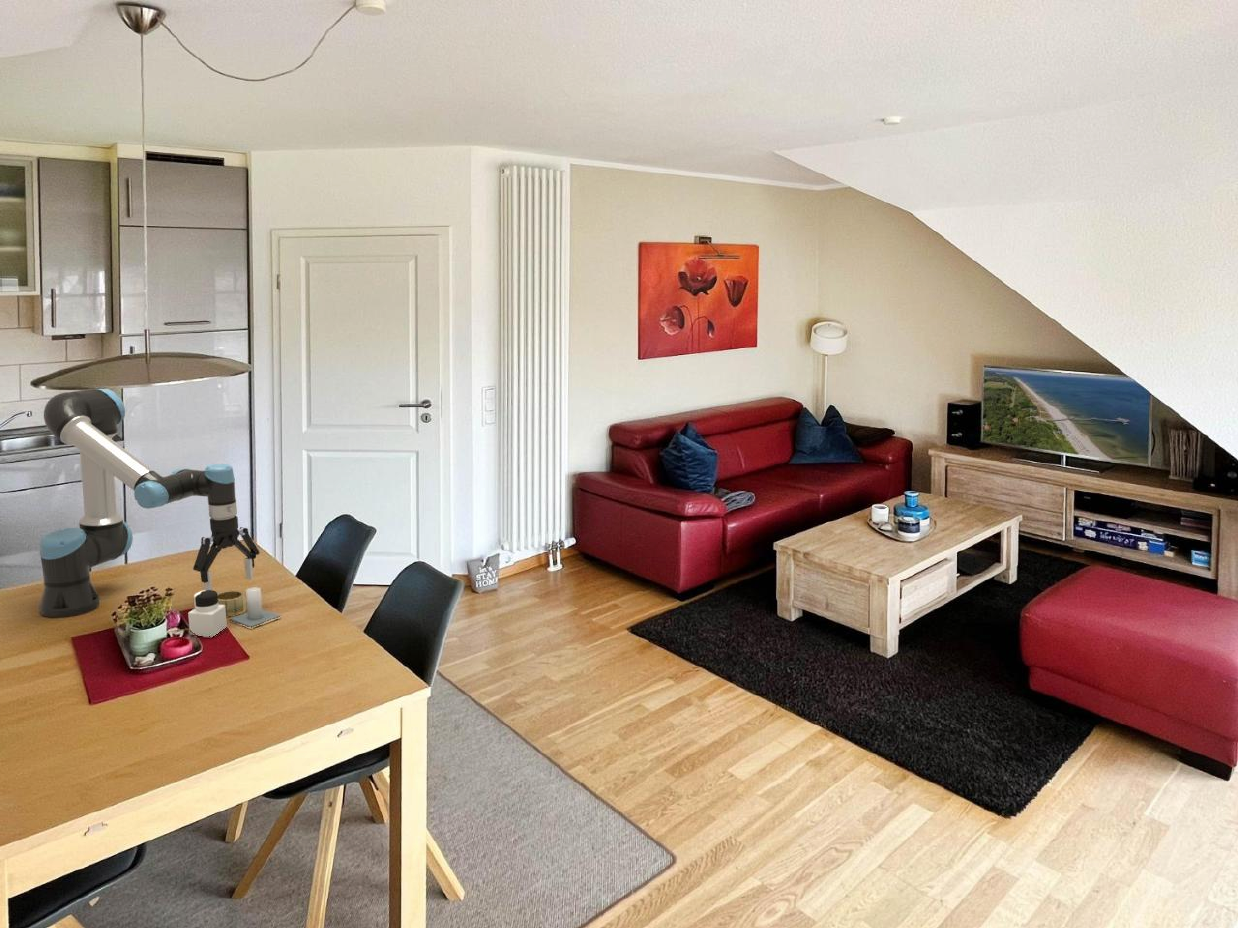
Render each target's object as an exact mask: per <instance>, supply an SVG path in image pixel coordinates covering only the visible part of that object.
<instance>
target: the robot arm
mask: <svg viewBox="0 0 1238 928" xmlns="http://www.w3.org/2000/svg"><path fill="white" fill-rule="evenodd" d="M125 416H126V407H125V405H124V402H123V400H122V399H121V397H120V396H118V394H117V393H116V392H115V391H113V390H111V389H109V388H106V389H92V390H87V389H82V390H81V389H80V390H76V391H70V392H69V391H68V392H61V393H58V394H57V395H54V396H52V397H51V398H50V399H49V400H48V401H47V403H46V404H45V406H44V409H43V419H44V425H46V427H47V429H48V430H49V432H50V433H51V434H52V435H53V436H54V437H55V438H56V439H57V440H59V441H60V442H61V443H63V444H65V445H72V446H73V447H75V448H76V449H78V451H79V455H80V469H81V481H82V483H81V484H82V495H83V498H82V499H83V511H84V515H83V517H82V518H81V519H79V521H78V522H79V523H78V525H79V527H68V528H63V529H58V530H55V531H52V532H50V533H48V534H46V535H45V536H43V537H42V539H41V540H40V543H39V548H40V549H39V555H40V562H41V566H42V567H41V568H42V576H43V583H44V584H43V585H44V587H43V588H44V589H43V591H42V596H41V599H40V603H39V610H40V615H42V616H44V617H48V618H66V617H73V616H79V615H83V614H86V613H89V612H91V611H94V610H95V609H97V608H98V607H99V606H100V603H101V602H100V597H99V594H98V592H97V590H96V589H95V587H94V584H93V583H92V581H91V576H90V569H91V568H93V567H96V566H99V565H101V564H105V563H107V562H109V561H113V560H116V559H118V558H120V557H121V556H123V555H125V554H126V553H127V552H128V551H129V550H130V549H131V547H132V544H133V539H134V538H133V531H132V529H131V528H129V526H130V525H128V523H127V522H126V521H124V520H123V516H121V515H120V514H119V513H118V511H117V500H116V499H117V498H116V483H115V480H116V479H115V478H117V480H118V481H120V482H122V483H123V484H125V485H126V486H127V487H128V488H130V489H131V490H133V492H134V493H133V495H134V500H136V502H137V504H138V506H140V507H141V508H143V509H155V508H160V507H163V506H164V505H168V504H171V503H174V502H177V501H180V500H184V499H186V498H190V497H207V504H208V516H209V518H210V519H209V525H210V527H209V529H210V532H211V535H210V536H207V537H205V536H203V537H201V541H200V544H201V545H200V548H199V550H198V553H197V556H196V559H195V562H194V565H193V566H192V567H193V568H192V569H193V570H194V571H195V572H200V573H199V574H200V581H201V582H202V583H203V587H204V590H213V584H212V583H213V580H212V571H210V570H209V569H210V568H211V566H212V565H213V563H214V561H215V559H216V558H217V556H218V554H219V553H220V552H221V551H222V550H225V549H227V548H231V547H236V548H237V550H239V551H240V552H241V553H242V554H243V555H244V556H245V557H244V558H243V560H244V563H243V564H244V573H245V579H247V580H249V581H253V580H254V570H253V568H255V559H256V558H257V555H258V556H259V555H260V550H259V548H258V547H257V546H256V544H255V542H254V540H253V539H252V537H251V536H250V534H249V533H250V532H249V529H248V528H247V527H243V526H240V527H239V520H238V516H237V515H238V509H237V508H238V507H237V498H236V485H235V483H236V482H235V481H236V480H235V474H234V468H233V466H232V465H230V464H228V463H215V464H210V465H207V466H206V467H205V469H204V470H198V469H189V468H180V469H175V470H173V471H172V473H170V474H169V475H167V476H161V475H160V474H159V473H157V472H156V471H155V470H153V469H152V468H150V467H149V466H148V465H147V464H145V462H142V461H141V460H140V459H139V458H138V457H136V456H134V454H132V453H131V452H129V451H128V450H127V449H125V448H124V447H123V446H122V445H120V444H118V443H117V442H116V441H115V440H113V438H114V437H115V436H116V435H117V434H118V425H119V424H120V423H122V422H123V420H124V419H125ZM239 536H240V537H241V538H242V540H243V542H244V543H245V545H246V546H247V547H248V548H247V547H246V546H245V545H244V544H243V543H242V541H240V540H239V539H238V538H239Z"/></svg>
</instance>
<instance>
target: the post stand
mask: <svg viewBox="0 0 1238 928" xmlns="http://www.w3.org/2000/svg"><path fill="white" fill-rule="evenodd" d="M245 594H246V605H247V611H246V612H244V613H243V614H240V615H237V616H231V617H230V618H229V622H230V621H232V622H235V623H238V624H242V625H245V626H247V627H251V628H252V627H254V626H257V625H260V624H262V623H264V622H266V621H269V620H271V619H275V618H278V617H280V616H281V617H282V615H280V614H277V613H274V612H271V611H270V610H266V609H264V608H263V601H262V588H261V587H259V586H253V587H249V588H247V589H246V590H245ZM232 622H231V623H232ZM235 623H234V624H235ZM238 624H237V625H238Z"/></svg>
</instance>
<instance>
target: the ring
mask: <svg viewBox="0 0 1238 928" xmlns="http://www.w3.org/2000/svg"><path fill="white" fill-rule="evenodd" d="M217 594H218V605H225V610H226V618H228V617H227V616H231V617H234V616H233V615H237V614H239V613H241V612H243V611H244V610H246V609H247V597H246V591H244V590H239V589H238V590H237V589H230V590H224V591H220V592H217ZM237 616H238V615H237Z"/></svg>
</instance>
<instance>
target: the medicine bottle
mask: <svg viewBox="0 0 1238 928" xmlns="http://www.w3.org/2000/svg"><path fill="white" fill-rule="evenodd" d="M217 593H218V591H216V590H213V589H212V590H205V589H204V590H201V591H198V592H196V593H195V594H194V595H193V602H194V608H193V609H192V610H191V611H189V612H188V613H187V615H188V626H189V631H190V630H191V631H192V632H193V633H195V634H196V635H198V636H203V637H202V638H212V637H213V636H215V635H216V634H218V633H219V632H220V631H222V630H223V629H225V628H226V627H227V628H228V626H227V617H226V610H225V605H218V594H217ZM227 628H226V629H227ZM226 629H225V630H226ZM223 631H224V630H223ZM223 631H222V632H223ZM219 634H220V633H219ZM219 634H218V635H219ZM209 636H210V637H209ZM216 636H217V635H216ZM216 636H215V637H216Z"/></svg>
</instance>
